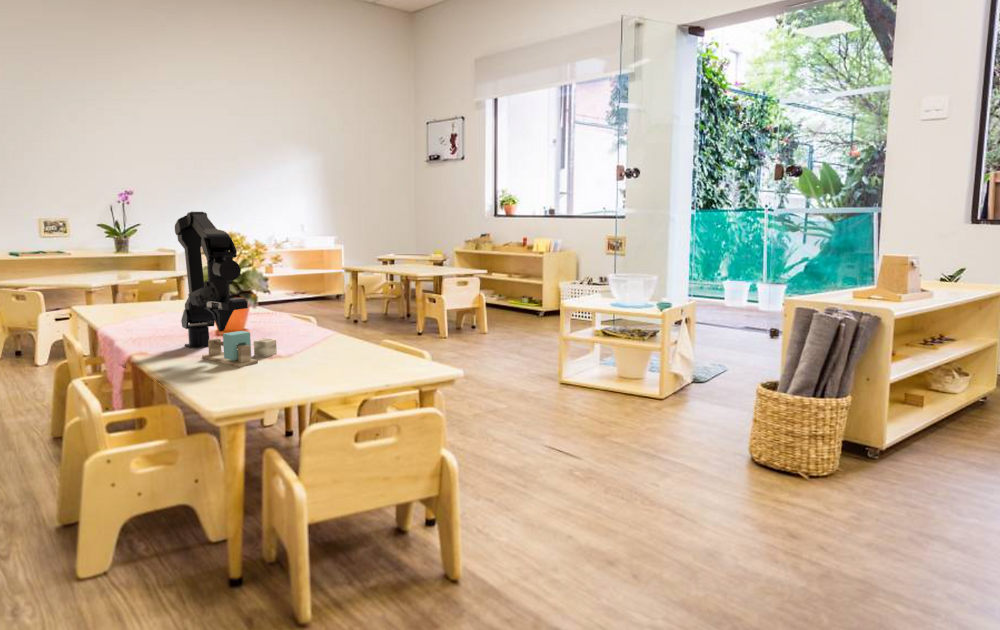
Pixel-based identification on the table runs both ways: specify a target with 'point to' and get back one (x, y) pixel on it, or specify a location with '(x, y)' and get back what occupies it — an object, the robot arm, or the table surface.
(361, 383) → the table surface
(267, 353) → the maple cube
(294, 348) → the table surface
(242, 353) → the rail
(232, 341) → the bead
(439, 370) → the table surface
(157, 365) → the table surface
